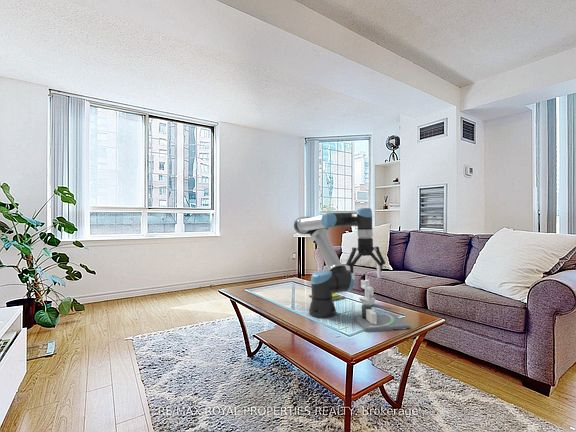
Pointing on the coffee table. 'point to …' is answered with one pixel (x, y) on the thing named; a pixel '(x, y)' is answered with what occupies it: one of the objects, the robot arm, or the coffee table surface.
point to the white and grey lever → (369, 314)
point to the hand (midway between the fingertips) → (366, 278)
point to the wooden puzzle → (334, 296)
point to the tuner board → (381, 323)
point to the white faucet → (367, 293)
